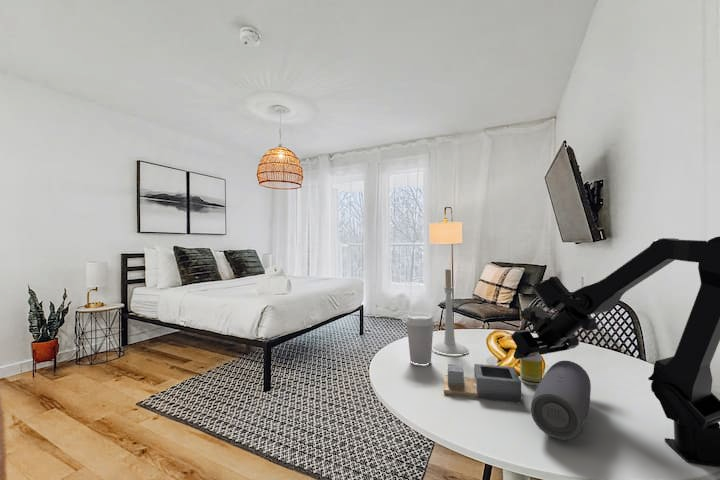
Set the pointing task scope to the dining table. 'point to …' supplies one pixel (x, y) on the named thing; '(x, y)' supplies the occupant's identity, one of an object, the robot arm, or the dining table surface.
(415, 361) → the coffee cup
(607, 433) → the dining table surface
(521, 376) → the supplement bottle
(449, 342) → the candlestick
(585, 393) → the bluetooth speaker
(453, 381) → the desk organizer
